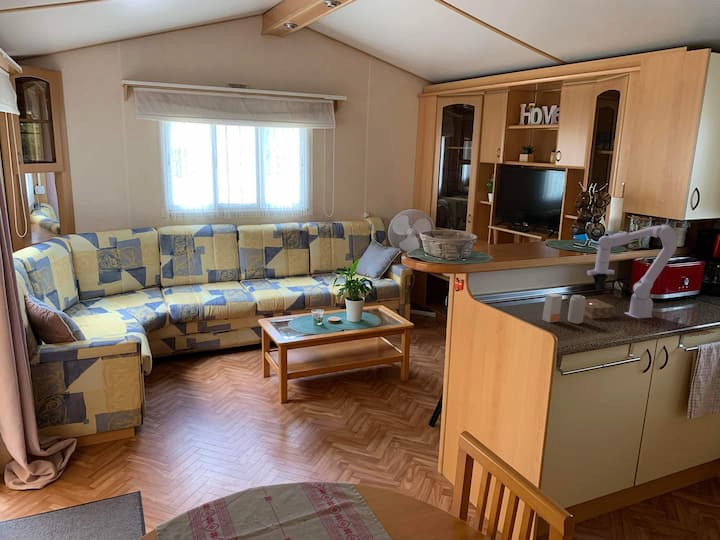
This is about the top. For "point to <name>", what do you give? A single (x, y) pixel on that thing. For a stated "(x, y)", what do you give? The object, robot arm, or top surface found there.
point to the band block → (598, 309)
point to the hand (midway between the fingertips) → (598, 289)
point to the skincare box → (552, 308)
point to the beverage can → (576, 309)
